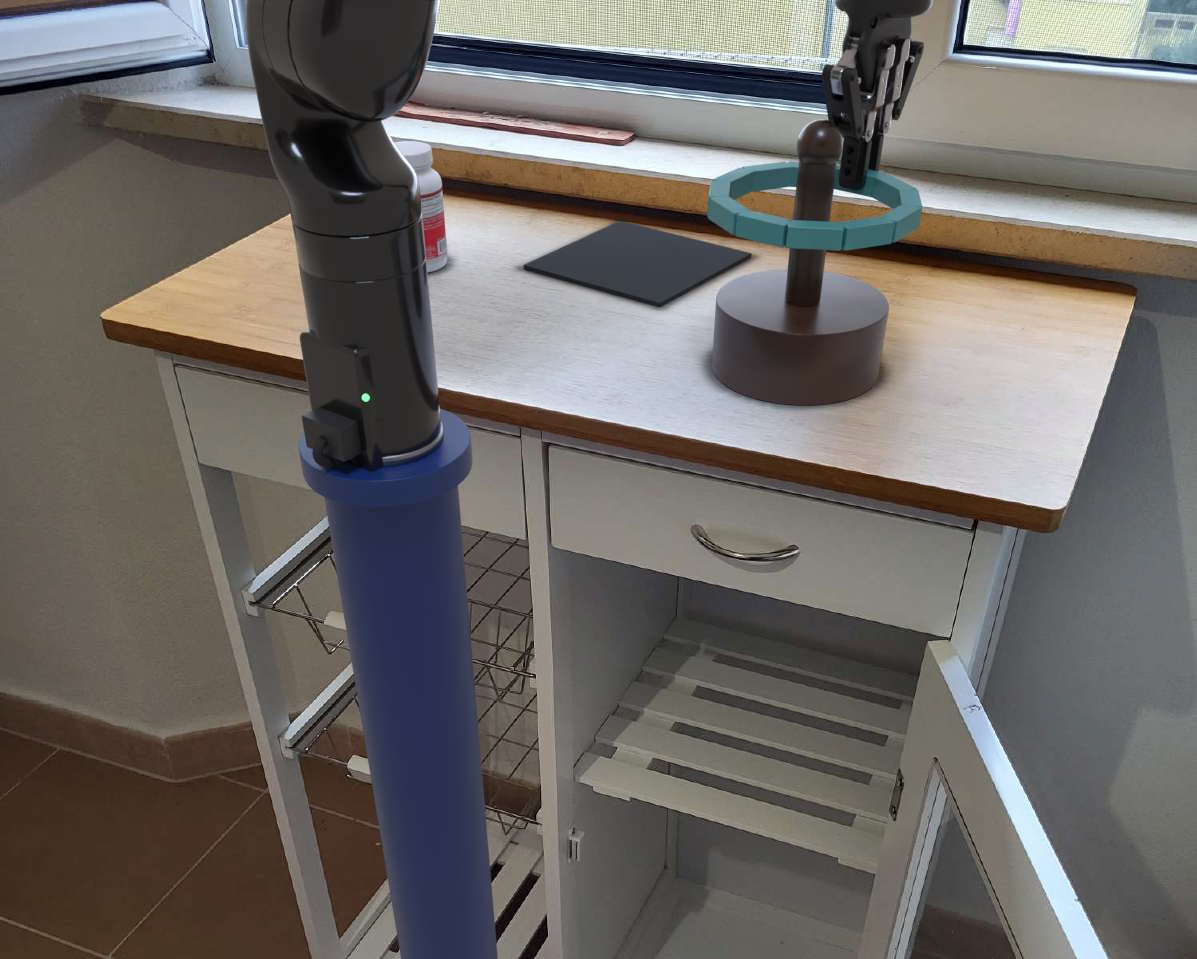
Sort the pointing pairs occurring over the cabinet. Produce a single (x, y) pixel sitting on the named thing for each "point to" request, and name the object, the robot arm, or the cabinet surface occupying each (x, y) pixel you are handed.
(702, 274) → the mat
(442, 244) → the pill bottle
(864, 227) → the hoop
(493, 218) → the cabinet surface
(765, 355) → the peg stand
